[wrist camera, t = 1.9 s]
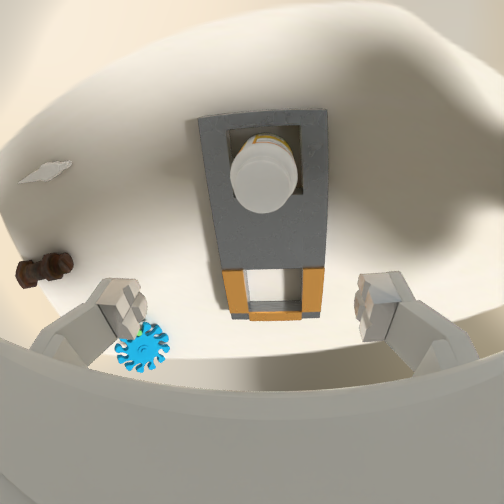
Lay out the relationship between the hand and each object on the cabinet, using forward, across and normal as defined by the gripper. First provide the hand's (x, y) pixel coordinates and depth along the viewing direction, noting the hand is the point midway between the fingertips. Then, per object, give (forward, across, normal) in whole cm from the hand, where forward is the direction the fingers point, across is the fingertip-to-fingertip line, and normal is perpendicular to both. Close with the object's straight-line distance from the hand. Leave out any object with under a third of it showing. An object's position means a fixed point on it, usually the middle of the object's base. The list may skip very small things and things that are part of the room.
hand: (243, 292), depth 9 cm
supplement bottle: (+21, 0, 0) cm, 21 cm away
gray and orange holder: (+20, 0, +8) cm, 22 cm away
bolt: (+21, +38, +12) cm, 45 cm away
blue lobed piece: (+21, +22, +27) cm, 40 cm away
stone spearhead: (+21, +32, -3) cm, 38 cm away
